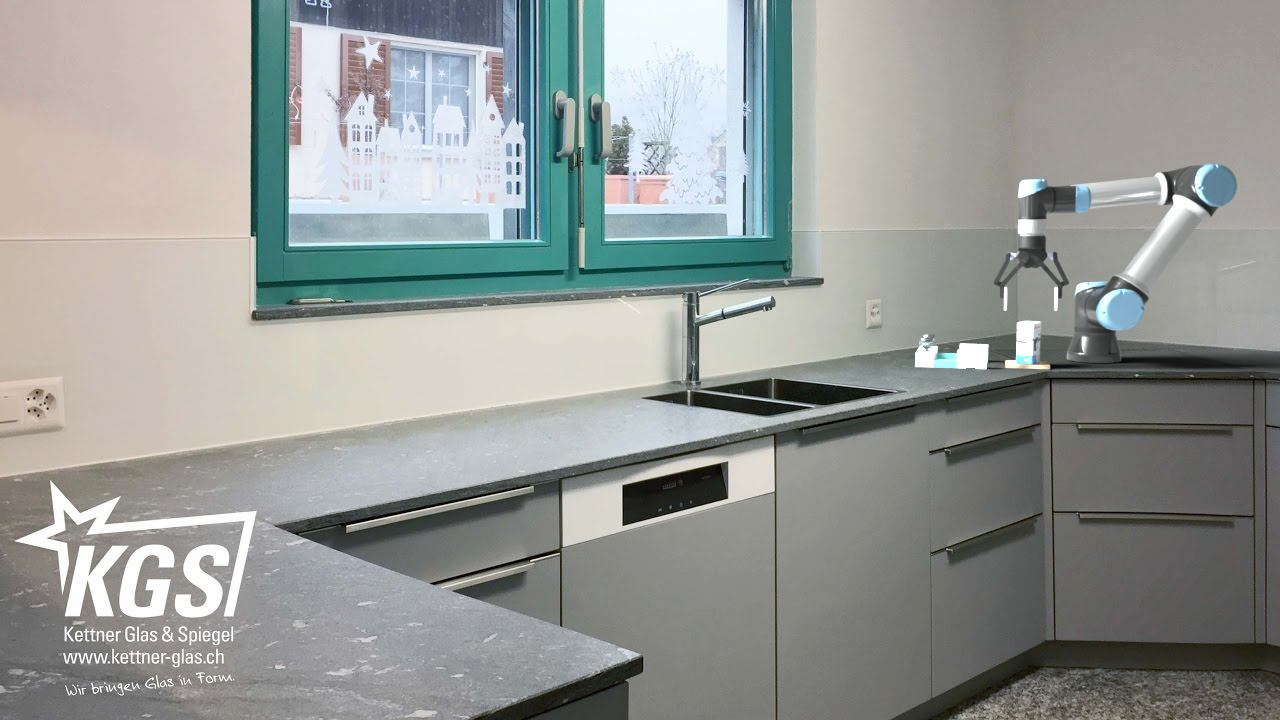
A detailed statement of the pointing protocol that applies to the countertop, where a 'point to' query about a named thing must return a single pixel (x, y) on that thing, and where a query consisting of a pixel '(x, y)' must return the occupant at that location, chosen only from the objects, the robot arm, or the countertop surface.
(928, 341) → the plunger
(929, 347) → the plunger
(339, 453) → the countertop surface
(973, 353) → the housing
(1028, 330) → the ink box
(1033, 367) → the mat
